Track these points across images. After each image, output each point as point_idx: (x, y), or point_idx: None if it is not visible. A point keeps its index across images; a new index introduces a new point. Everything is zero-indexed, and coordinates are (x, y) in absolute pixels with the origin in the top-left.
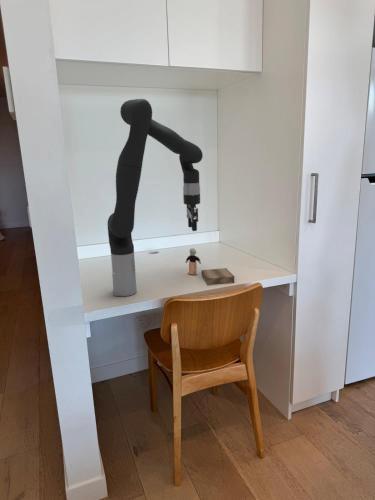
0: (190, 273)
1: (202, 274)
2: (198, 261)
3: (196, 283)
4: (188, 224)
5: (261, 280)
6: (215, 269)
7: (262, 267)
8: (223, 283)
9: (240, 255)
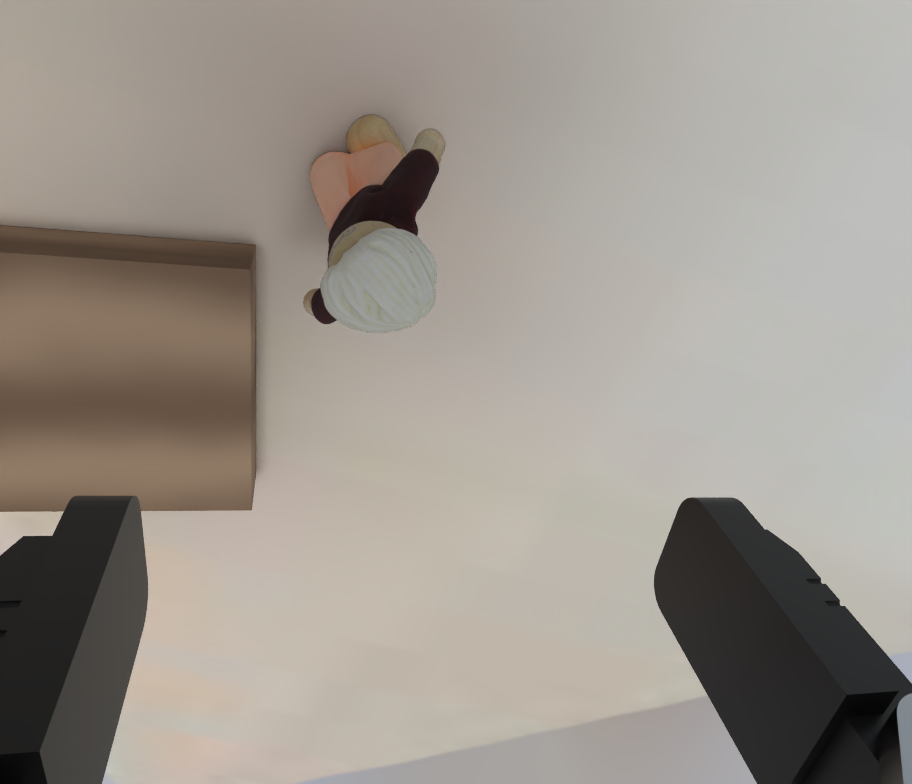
0: (353, 150)
1: (191, 253)
2: (317, 290)
3: (10, 115)
4: (737, 549)
5: None
6: (234, 412)
7: (341, 716)
8: None
9: (674, 665)
